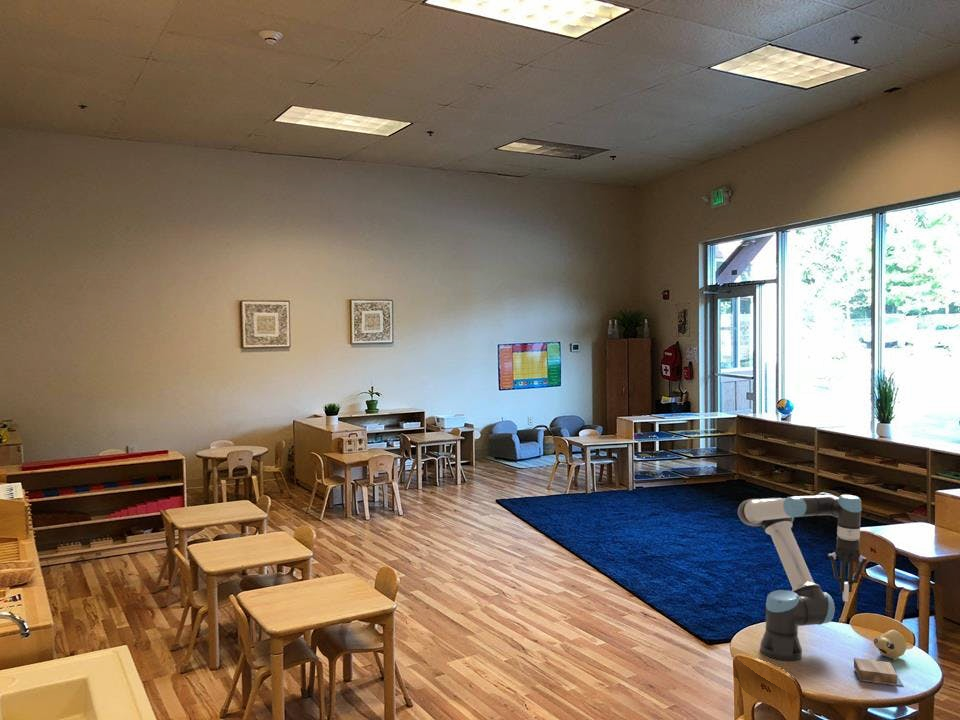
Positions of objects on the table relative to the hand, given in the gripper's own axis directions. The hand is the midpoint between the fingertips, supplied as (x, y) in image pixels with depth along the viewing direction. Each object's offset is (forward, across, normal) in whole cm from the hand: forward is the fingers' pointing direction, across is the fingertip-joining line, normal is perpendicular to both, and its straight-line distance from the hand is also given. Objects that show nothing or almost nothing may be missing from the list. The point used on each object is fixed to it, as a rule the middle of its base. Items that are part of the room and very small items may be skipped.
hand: (845, 600), depth 270 cm
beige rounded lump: (+27, +20, +18) cm, 38 cm away
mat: (+27, +12, -1) cm, 30 cm away
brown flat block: (+25, +4, -3) cm, 25 cm away
